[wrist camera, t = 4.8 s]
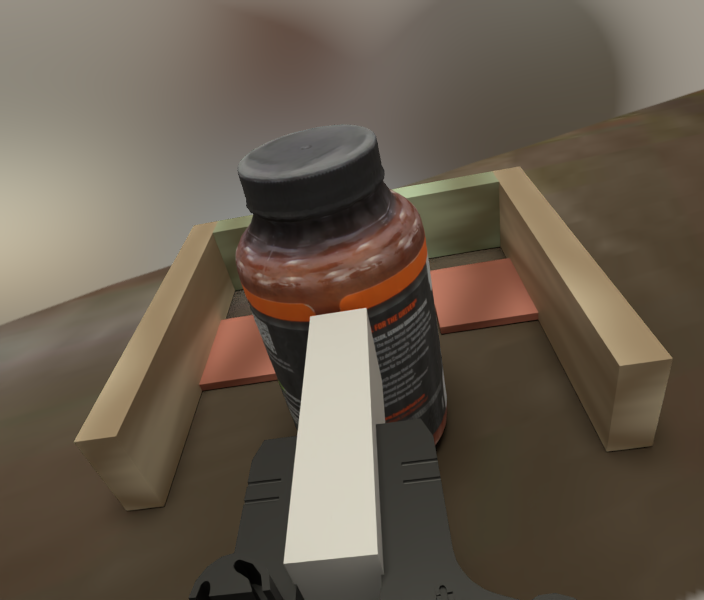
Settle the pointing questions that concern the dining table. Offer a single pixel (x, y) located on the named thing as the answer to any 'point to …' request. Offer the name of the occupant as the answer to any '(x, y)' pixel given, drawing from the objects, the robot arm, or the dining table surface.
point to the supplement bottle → (340, 264)
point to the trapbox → (451, 309)
